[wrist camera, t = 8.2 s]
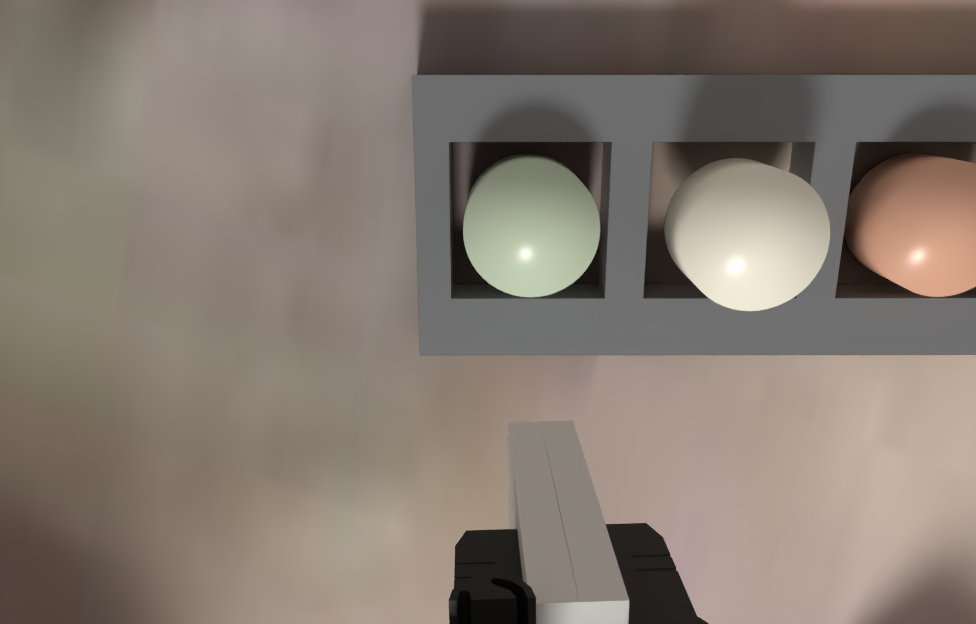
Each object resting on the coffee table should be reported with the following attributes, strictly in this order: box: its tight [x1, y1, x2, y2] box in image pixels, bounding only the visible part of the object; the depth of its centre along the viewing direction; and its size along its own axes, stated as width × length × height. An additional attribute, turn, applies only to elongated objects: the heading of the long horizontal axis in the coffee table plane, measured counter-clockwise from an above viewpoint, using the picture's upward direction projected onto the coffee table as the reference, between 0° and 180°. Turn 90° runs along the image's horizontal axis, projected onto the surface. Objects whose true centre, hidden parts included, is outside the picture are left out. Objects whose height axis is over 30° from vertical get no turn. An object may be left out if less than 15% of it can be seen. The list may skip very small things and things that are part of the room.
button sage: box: [463, 153, 600, 297], centre depth 28 cm, size 5×5×3 cm
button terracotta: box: [844, 153, 976, 297], centre depth 28 cm, size 5×5×3 cm
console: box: [412, 75, 976, 356], centre depth 29 cm, size 22×10×2 cm, turn 90°
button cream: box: [664, 158, 830, 311], centre depth 26 cm, size 5×5×3 cm
